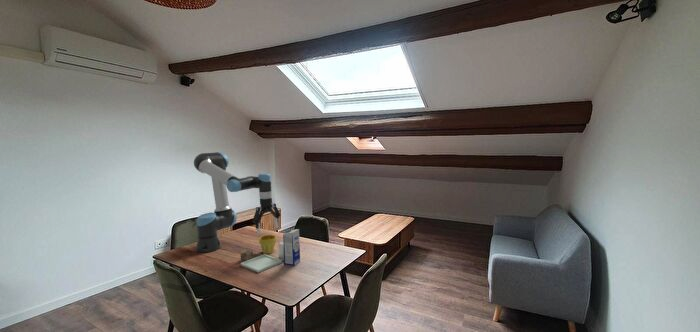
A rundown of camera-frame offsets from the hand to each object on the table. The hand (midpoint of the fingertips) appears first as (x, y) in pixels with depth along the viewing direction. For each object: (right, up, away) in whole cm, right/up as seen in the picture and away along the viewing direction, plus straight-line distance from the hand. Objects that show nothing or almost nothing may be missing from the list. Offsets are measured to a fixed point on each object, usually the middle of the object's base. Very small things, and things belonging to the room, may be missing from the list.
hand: (267, 230), depth 187 cm
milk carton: (+19, -16, -16) cm, 30 cm away
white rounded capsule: (+13, -15, -8) cm, 21 cm away
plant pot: (0, -15, +1) cm, 15 cm away
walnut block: (-10, -16, -10) cm, 21 cm away
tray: (+1, -16, -17) cm, 23 cm away
